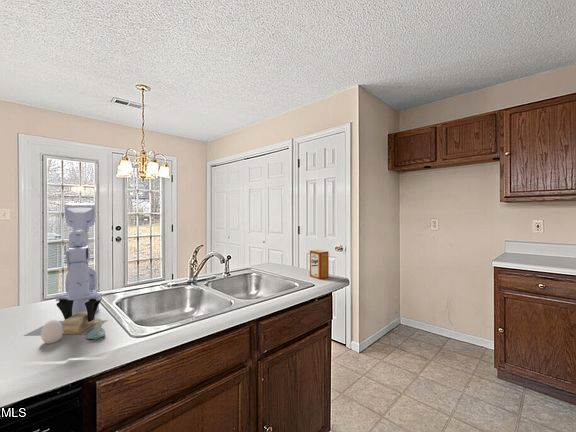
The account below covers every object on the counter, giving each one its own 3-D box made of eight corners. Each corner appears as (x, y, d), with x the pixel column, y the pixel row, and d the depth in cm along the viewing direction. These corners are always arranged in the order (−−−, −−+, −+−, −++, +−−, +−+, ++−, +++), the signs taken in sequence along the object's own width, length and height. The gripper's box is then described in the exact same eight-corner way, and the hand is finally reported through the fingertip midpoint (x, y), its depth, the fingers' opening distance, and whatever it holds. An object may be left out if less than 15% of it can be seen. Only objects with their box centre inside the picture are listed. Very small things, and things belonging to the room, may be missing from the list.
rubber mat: (52, 322, 106) (52, 321, 106) (108, 322, 106) (108, 320, 106) (23, 337, 94) (23, 335, 94) (85, 336, 94) (85, 334, 94)
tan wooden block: (77, 332, 96) (76, 320, 96) (63, 332, 96) (63, 320, 96) (94, 321, 105) (94, 310, 105) (82, 321, 105) (81, 310, 105)
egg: (65, 338, 93) (65, 315, 93) (59, 345, 88) (59, 321, 88) (45, 341, 91) (44, 318, 91) (38, 348, 86) (37, 324, 86)
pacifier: (82, 347, 88) (106, 341, 91) (81, 326, 88) (104, 321, 91) (83, 338, 94) (104, 333, 97) (81, 319, 94) (103, 314, 97)
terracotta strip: (81, 321, 105) (81, 321, 105) (98, 321, 106) (98, 320, 106) (59, 334, 95) (59, 333, 95) (78, 333, 95) (78, 333, 95)
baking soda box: (309, 276, 175) (309, 250, 175) (318, 274, 179) (318, 249, 178) (320, 279, 167) (319, 251, 167) (328, 278, 171) (328, 251, 171)
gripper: (48, 285, 96) (49, 325, 96) (92, 284, 96) (93, 325, 96) (64, 279, 103) (65, 317, 103) (105, 279, 103) (106, 317, 103)
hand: (79, 320), depth 100 cm, fingers open, 7 cm apart
